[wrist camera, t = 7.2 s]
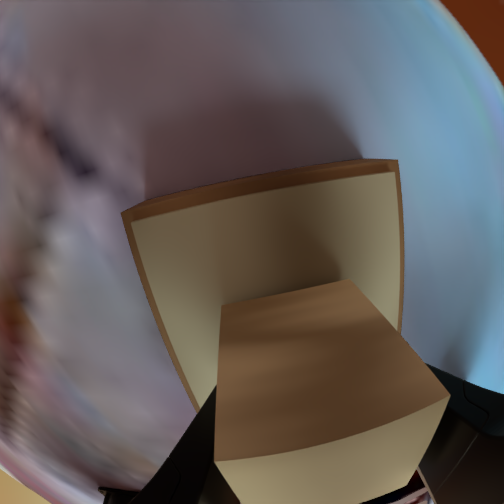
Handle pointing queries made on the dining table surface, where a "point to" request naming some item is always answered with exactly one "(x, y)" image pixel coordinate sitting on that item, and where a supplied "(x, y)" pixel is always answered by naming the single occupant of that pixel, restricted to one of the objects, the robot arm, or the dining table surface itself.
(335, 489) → the block
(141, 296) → the dining table surface
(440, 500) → the robot arm
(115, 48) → the dining table surface
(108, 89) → the dining table surface
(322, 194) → the plinth
